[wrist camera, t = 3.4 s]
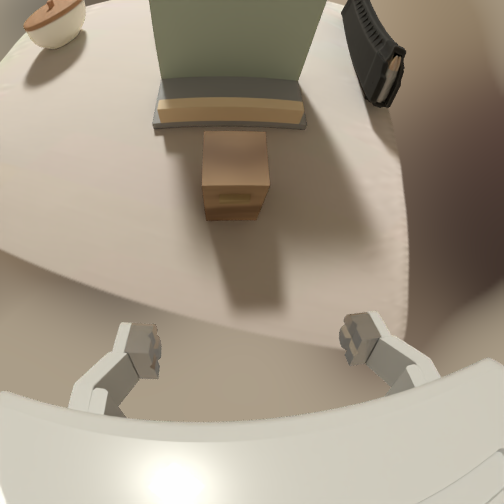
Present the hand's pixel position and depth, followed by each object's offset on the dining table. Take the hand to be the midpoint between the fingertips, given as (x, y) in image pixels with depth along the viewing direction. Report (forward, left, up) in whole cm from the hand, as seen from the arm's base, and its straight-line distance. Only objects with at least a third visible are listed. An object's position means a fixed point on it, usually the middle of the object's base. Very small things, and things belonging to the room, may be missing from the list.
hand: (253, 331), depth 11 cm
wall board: (+20, +17, -15) cm, 30 cm away
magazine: (+45, +10, -15) cm, 49 cm away
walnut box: (+9, +8, -15) cm, 19 cm away
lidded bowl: (+17, +58, -15) cm, 63 cm away
